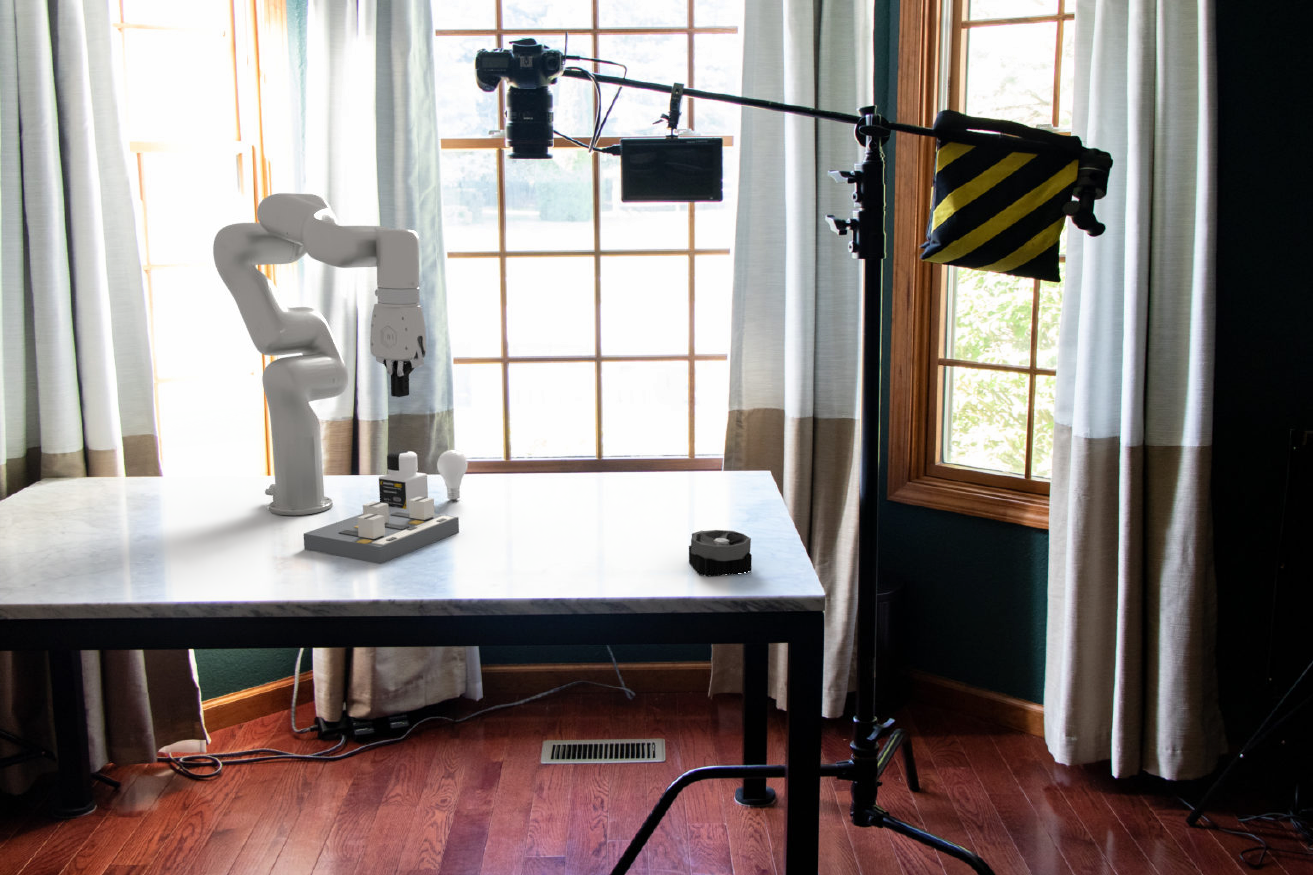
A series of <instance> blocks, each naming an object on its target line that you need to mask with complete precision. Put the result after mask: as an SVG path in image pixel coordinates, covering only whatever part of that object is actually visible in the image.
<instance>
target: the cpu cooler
mask: <svg viewBox="0 0 1313 875" xmlns="http://www.w3.org/2000/svg"><path fill="white" fill-rule="evenodd" d="M751 542H752V538H751V537H749V536H747V535H745V533H741V532H738V531H735V530H728V529H727V530H721V529H713V530H698V531H696V532H692V533H691V539H690V545H688V563H689V565H690V566H691V567H692V568H693V570H695V572H696V573H697V574H698V575H699V576H705V577H709V576H710V577H719V576H721V575H725V574H727V575H725V576H730V575H731V574H738V573H744V572H746V573H748V574H749V572H748V571H751V572H752V561H753V560H752V558H753V557H752V556H753V555H752V554H751ZM738 575H739V574H738ZM731 576H732V575H731Z"/></svg>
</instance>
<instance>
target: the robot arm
mask: <svg viewBox="0 0 1313 875" xmlns="http://www.w3.org/2000/svg"><path fill="white" fill-rule="evenodd" d="M256 216H257V217H256V218H257V220H258V222H238V223H232V224H228V225H226V226H224V227H222V228H221V229H220V230H218V232H217V233H216V235H215V237H214V240H213V245H212V248H213V249H212V250H213V251H212V253H213V261H214V265H215V268H216V270H217V272H218V275H219V277H220V278H221V280H222V282H223V283H224V285H225V286H226V288H227V290H228V291H229V292H230V295H232V297H233V300H234V302H235V303H236V305H237V308H238V310H239V313H240V315H241V318H242V320H243V322H244V324H245V327H246V330H247V331H248V334H249V336H250V339H251V341H252V343H253V345H254V347H255V348H256V350H257V351H258V352H259V353H260V354H261V355H264V356H270V357H271V356H273V357H274V356H284V355H292V356H286V357H285V356H284V357H280V358H277V359H275V360H272V361H271V362H270V363H269V364H267V366H266V367H265V368H264V370H263V373H262V376H261V377H262V379H261V380H262V385H263V386H262V387H263V391H264V394H265V398H266V402H267V405H268V412H269V419H270V430H271V440H272V441H271V442H272V456H273V458H272V459H273V470H274V471H273V472H274V482H275V483H272V484H270V485H269V486H268V487H269V488H265V490H264V494H265V495H266V496H272V501H271V502H270V503H269V504H268V511H269V512H271V513H272V514H274V515H281V516H306V515H312V514H317V513H321V512H325V511H327V510H329V509H331V508H332V507H333V505H334V504H333V499H331V498H330V497H328V496H325V486H324V472H323V471H324V469H323V455H322V437H321V425H320V421H319V418H318V416H317V414H316V412H315V411H314V410H313V408H312V407H311V405H310V403H309V402H314V401H319V400H326V399H330V398H331V399H332V398H335V397H339V396H340V395H342V394H343V393H344V392H345V391H346V389H347V386H348V385H349V384H348V383H349V373H348V369H347V366H346V363H345V361H344V359H343V358H344V357H343V356H342V353H341V351H340V349H339V346H338V344H337V341H336V339H335V337H334V334H333V333H332V331H331V327H330V326H329V324H328V321H327V320H326V318H325V317H324V316H323V315H322V313H320V312H319V311H318V310H317V309H315V308H311V307H307V306H300V307H288V306H286V304H285V303H284V302H283V300H282V297H281V295H280V293H279V290H278V288H277V287H276V286H275V284H274V283H273V281H272V280H271V279H270V278H269V277H268V276H267V275H265V274H264V273H263V272H262V271H261V270H259V269H258V268H257V267H256V266H257V265H258V266H259V265H260V266H262V265H263V266H266V265H289V264H292V263H295V262H297V261H299V260H300V259H302V258H303V256H305V255H306V254H307V255H308V256H309V257H310V258H311V259H314V260H316V261H317V262H321V263H324V264H326V265H329V266H332V267H336V268H342V269H350V268H353V269H354V268H376V286H377V289H375V290H374V295H375V296H376V297H377V298H376V299H377V303H374V304H373V309H372V314H371V315H372V316H371V321H370V335H369V336H370V337H369V338H370V339H369V340H370V343H369V345H370V347H369V348H370V353H371V356H373V357H374V358H375V361H376V362H378V363H379V364H382V365H384V367H385V368H386V370H387V374H388V375H389V376H390V396H391V397H395V398H403V397H407V396H408V397H409V396H410V375H412V374H413V371H414V370H415V368H420V367H424V365H425V361H424V358H425V356H426V352H427V337H426V336H427V335H426V334H427V332H426V322H425V317H424V311H423V307H422V305H420V244H419V243H420V242H419V235H418V233H417V232H416V231H415V230H412V229H407V228H392V227H388V226H382V225H339V223H338V219H337V218H336V215H335V214H334V212H333V211H332V209H331V206H330V205H329V203H328V202H327V201H326V200H325V199H324V198H323V197H321V196H319V195H317V194H312V193H285V192H284V193H283V192H281V193H273V194H270V195H268V196H266V197H264V198H263V199H262V200H261V201H260V203H259V204H258V206H257V211H256ZM294 354H295V355H294ZM296 354H300V355H296Z"/></svg>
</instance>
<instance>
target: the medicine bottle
mask: <svg viewBox="0 0 1313 875" xmlns="http://www.w3.org/2000/svg"><path fill="white" fill-rule="evenodd" d="M386 460H387V463H386V464H387V473H388V474H384V475H381V476H379V477H378V486H379V487H378V488H379V489H378V490H379V491H378V493H379V502H382V503H387V504H388V506H389V507H396V508H402V509H409V500H410V499H413V498H416V497H419V496H420V497H428V498H429V492H428V490H429V488H428V474H427V473H424V472H418V470H419V469H418V454H417V453H416V452H415V451H412V450H396V451H395V450H394V451H392V452H389V453H388V454H387V456H386Z"/></svg>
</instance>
